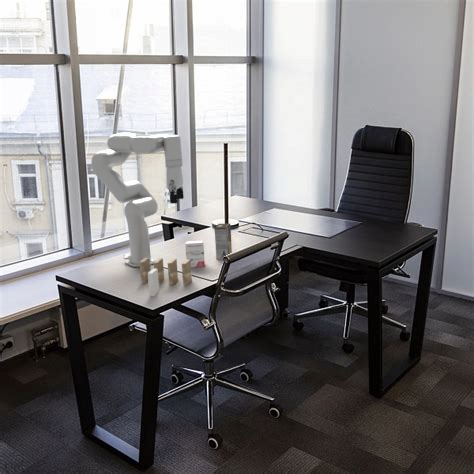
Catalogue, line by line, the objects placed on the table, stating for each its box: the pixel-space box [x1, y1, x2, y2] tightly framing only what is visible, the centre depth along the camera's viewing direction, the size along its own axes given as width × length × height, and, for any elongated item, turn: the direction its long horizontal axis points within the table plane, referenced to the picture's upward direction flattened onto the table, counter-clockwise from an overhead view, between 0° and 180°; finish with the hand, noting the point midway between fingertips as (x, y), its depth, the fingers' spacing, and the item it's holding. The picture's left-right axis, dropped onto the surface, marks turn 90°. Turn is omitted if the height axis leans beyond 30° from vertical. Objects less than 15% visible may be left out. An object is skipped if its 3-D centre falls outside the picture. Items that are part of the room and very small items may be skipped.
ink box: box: [184, 240, 206, 268], centre depth 282 cm, size 8×5×12 cm, turn 96°
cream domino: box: [147, 268, 160, 297], centre depth 249 cm, size 2×6×10 cm, turn 166°
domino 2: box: [153, 258, 165, 285], centre depth 263 cm, size 2×6×10 cm, turn 166°
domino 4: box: [181, 258, 193, 287], centre depth 259 cm, size 2×6×10 cm, turn 166°
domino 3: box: [167, 258, 179, 286], centre depth 261 cm, size 2×6×10 cm, turn 166°
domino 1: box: [139, 258, 151, 284], centre depth 264 cm, size 2×6×10 cm, turn 166°
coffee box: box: [214, 223, 233, 260], centre depth 293 cm, size 9×6×16 cm
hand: (177, 200), depth 268 cm, fingers open, 9 cm apart
